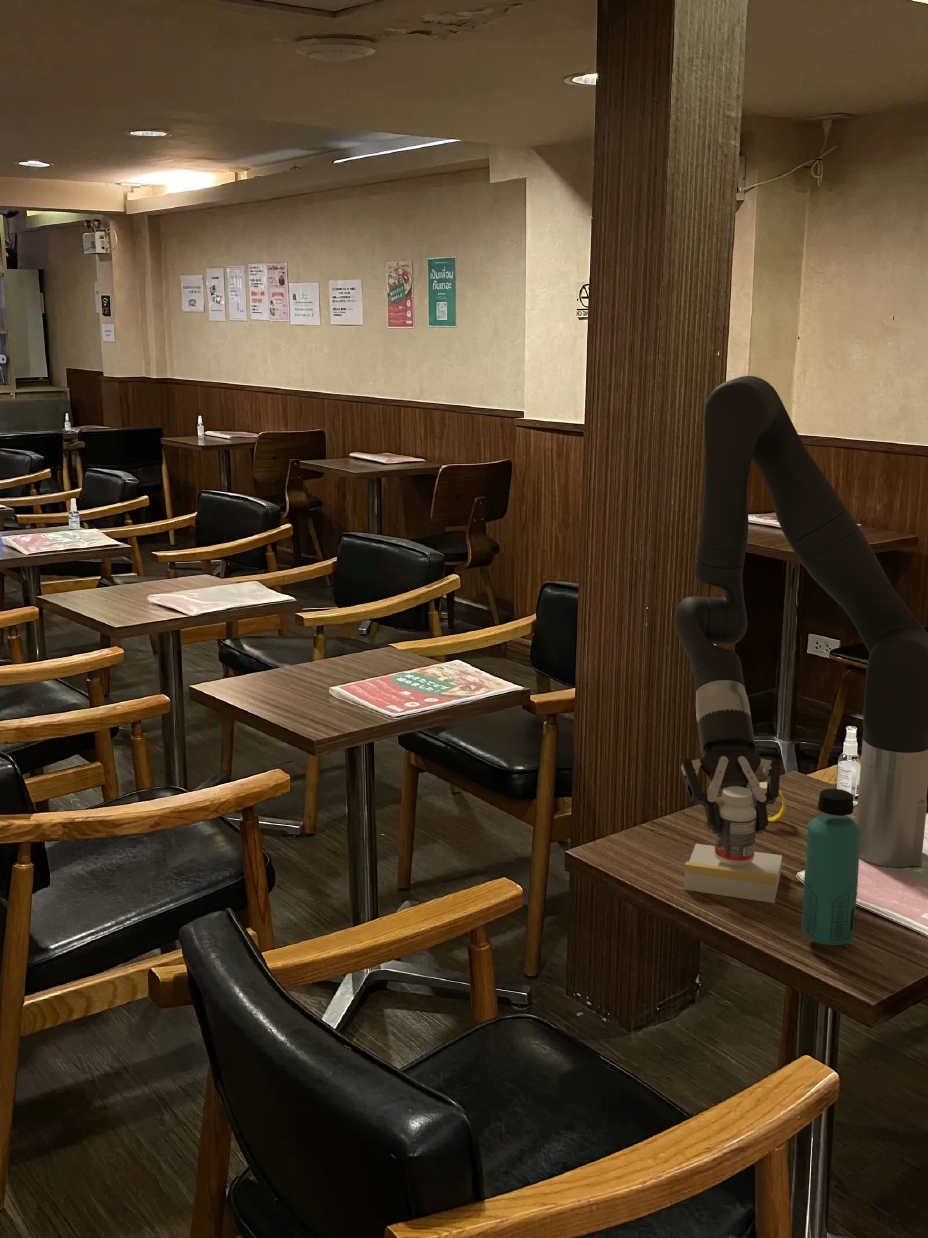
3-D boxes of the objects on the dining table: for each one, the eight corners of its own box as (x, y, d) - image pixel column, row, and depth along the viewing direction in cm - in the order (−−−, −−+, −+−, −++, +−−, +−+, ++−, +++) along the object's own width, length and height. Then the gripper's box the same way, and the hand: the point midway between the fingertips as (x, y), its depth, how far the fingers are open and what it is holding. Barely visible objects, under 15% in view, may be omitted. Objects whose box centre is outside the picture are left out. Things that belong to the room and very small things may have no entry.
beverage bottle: (856, 960, 145) (869, 805, 140) (799, 954, 146) (811, 800, 141) (850, 934, 151) (863, 785, 146) (796, 928, 152) (807, 781, 147)
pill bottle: (709, 850, 167) (712, 784, 165) (746, 848, 168) (750, 783, 165) (720, 867, 162) (724, 800, 159) (759, 865, 162) (763, 798, 160)
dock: (780, 872, 168) (782, 847, 167) (774, 903, 159) (776, 877, 158) (695, 859, 172) (696, 835, 171) (683, 889, 163) (685, 864, 162)
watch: (746, 825, 185) (746, 788, 183) (744, 818, 187) (744, 782, 186) (786, 824, 184) (786, 787, 183) (784, 817, 187) (783, 781, 185)
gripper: (678, 707, 167) (690, 821, 158) (780, 707, 167) (798, 821, 159) (669, 730, 174) (681, 842, 165) (768, 730, 174) (785, 841, 165)
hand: (739, 831), depth 162 cm, fingers closed on pill bottle, 5 cm apart
